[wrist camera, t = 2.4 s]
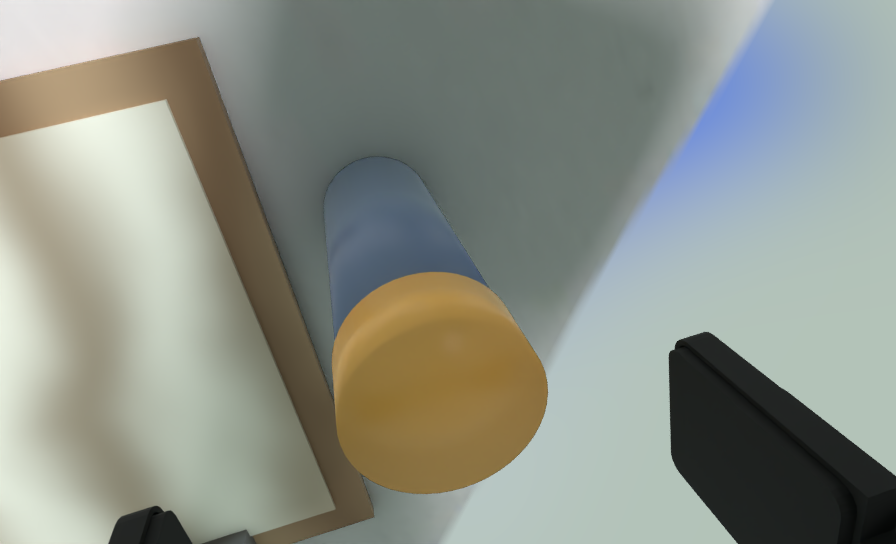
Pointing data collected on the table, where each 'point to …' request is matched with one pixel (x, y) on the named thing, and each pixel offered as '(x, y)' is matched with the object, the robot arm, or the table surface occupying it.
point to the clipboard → (151, 319)
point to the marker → (420, 341)
